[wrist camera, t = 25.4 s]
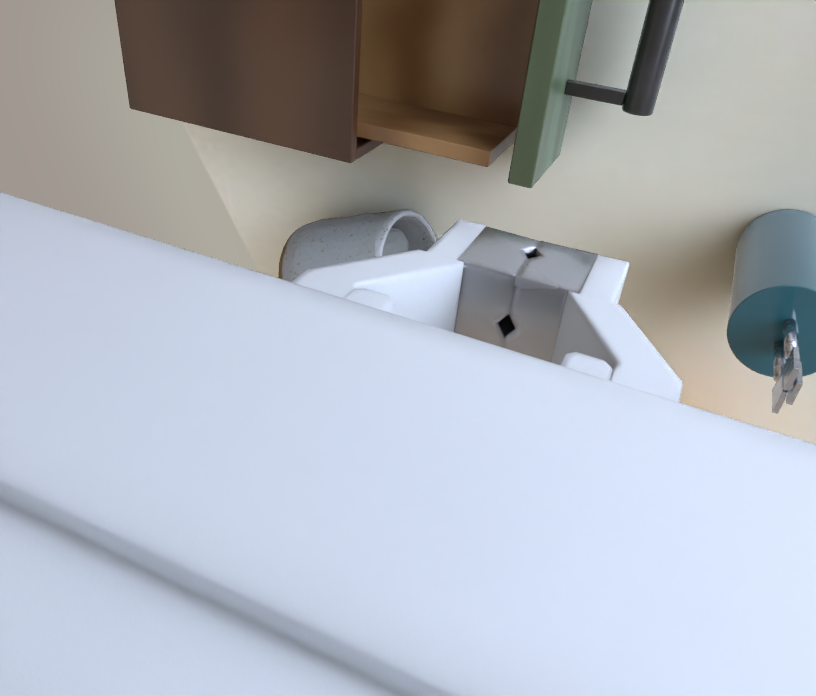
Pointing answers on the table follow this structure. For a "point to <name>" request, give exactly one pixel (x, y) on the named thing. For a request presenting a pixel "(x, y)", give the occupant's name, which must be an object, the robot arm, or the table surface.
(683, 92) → the table surface
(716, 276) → the table surface
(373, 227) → the ceramic mug
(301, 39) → the cabinet
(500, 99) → the drawer
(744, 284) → the cutlery cup
